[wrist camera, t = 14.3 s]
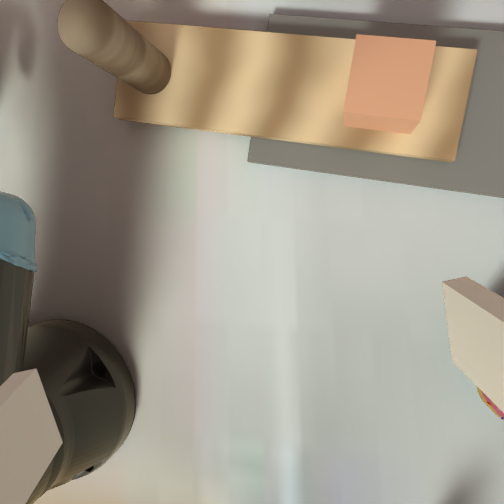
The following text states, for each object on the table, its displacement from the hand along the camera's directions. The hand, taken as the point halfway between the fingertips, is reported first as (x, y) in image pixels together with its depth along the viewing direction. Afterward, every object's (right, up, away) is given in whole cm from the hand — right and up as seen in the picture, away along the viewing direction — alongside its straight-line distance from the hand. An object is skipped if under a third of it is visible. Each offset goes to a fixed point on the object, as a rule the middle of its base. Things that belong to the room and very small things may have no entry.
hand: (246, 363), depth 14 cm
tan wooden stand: (+3, +17, +23) cm, 28 cm away
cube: (+10, +15, +20) cm, 27 cm away
